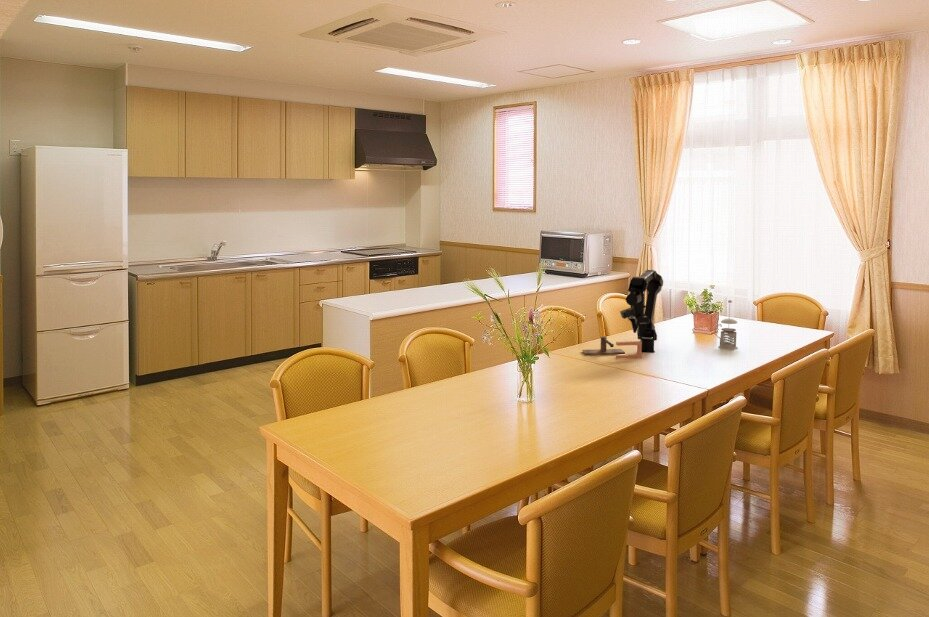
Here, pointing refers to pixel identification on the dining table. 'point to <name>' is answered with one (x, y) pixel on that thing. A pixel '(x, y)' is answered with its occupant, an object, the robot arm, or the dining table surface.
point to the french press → (730, 332)
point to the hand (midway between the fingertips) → (637, 334)
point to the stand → (604, 349)
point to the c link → (638, 343)
